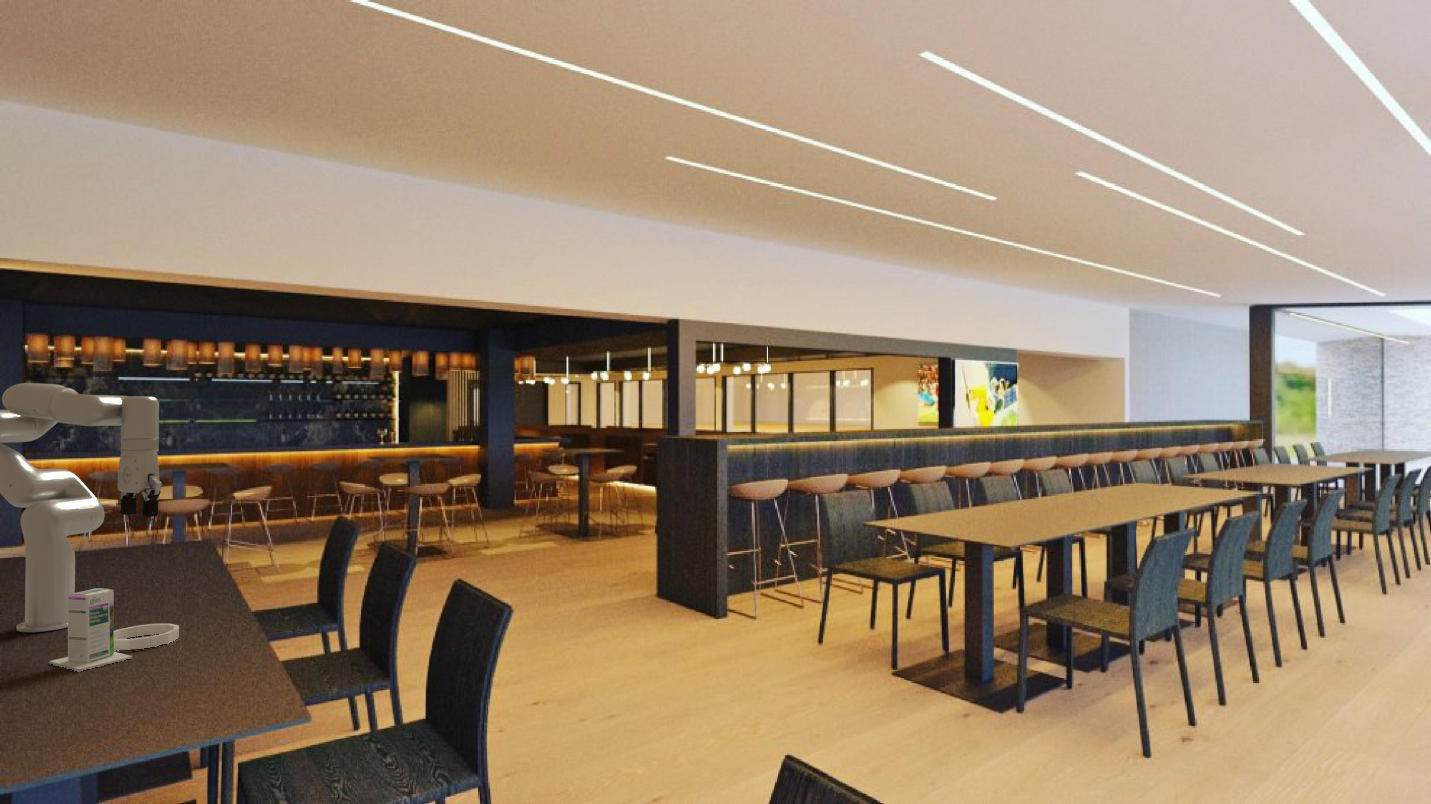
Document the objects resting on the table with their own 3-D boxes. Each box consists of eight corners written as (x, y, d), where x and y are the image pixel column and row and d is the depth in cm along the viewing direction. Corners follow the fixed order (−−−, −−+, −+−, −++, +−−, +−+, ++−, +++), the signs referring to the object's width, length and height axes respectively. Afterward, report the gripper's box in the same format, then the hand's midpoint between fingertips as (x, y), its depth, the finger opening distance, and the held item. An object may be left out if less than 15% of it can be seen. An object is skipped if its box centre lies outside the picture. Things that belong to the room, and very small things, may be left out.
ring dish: (91, 646, 181) (92, 635, 181) (158, 631, 194) (158, 621, 194) (125, 654, 175) (125, 643, 175) (191, 638, 187) (191, 628, 187)
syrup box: (87, 663, 167) (88, 594, 167) (66, 661, 168) (67, 593, 169) (114, 655, 172) (115, 588, 173) (93, 653, 174) (94, 587, 174)
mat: (49, 663, 168) (49, 661, 168) (103, 651, 177) (103, 648, 177) (78, 672, 163) (78, 669, 163) (132, 659, 172) (132, 656, 172)
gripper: (104, 446, 196) (103, 515, 195) (142, 447, 188) (141, 519, 188) (137, 445, 202) (136, 511, 202) (176, 446, 194) (175, 515, 194)
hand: (139, 515), depth 195 cm, fingers open, 9 cm apart
